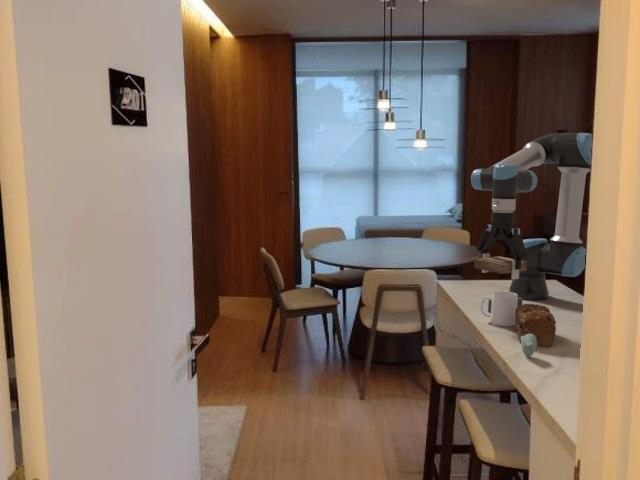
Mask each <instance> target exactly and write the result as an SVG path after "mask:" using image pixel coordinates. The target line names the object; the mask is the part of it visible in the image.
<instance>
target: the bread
mask: <svg viewBox="0 0 640 480" xmlns="http://www.w3.org/2000/svg"><path fill="white" fill-rule="evenodd" d="M556 323H557V320H556V318H555V317H554V315H553V314H552V312H551V310H550V309H549V307H547V306H546V305H540V304H534V303H524V304H522V306H520V307H517V308H516V312H515V325H514V326H515V332H516V335H517V339H518V341H519V344H520V345H521V336H525V335H527V334H533V335H535V337H536V339H537V347H541V348H551V347H553V346H554V341H555V340H556V339H555V338H556V331H557V326H556Z"/></svg>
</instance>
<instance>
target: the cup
mask: <svg viewBox="0 0 640 480" xmlns="http://www.w3.org/2000/svg"><path fill="white" fill-rule="evenodd" d="M486 300H488V301H489V300H492V305H491V313H489V312H486V311H485V310H484V303H485V301H486ZM517 301H518V295H517V294H516V293H513V292H509V291H505V290H500V291H498V290H497V291H493V292H492V293H491V296H490V295H484V296H483V298H481V300H480V305H479V309H480V313H481V315H483V316H484V317H487V318H490V322H491V324H492V325H494V326H497V327H498V326H499V327H513V326H515V312H516V308H517Z"/></svg>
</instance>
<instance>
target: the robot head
mask: <svg viewBox="0 0 640 480" xmlns="http://www.w3.org/2000/svg"><path fill="white" fill-rule="evenodd" d="M520 345H521V350H522V353H523V354H524V356H525V357H527V358H530V357H531V356H533V355H534V353H535V351H536V349H537V347H538V346H537V339H536V337H535V335H533V334H527V335H525V336H521V344H520Z"/></svg>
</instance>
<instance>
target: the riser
mask: <svg viewBox="0 0 640 480" xmlns="http://www.w3.org/2000/svg"><path fill="white" fill-rule="evenodd" d="M523 300H524V299H523V298H519V297H518V301H517V307H520V306H522V305H523ZM491 305H492V300H488V305H487V306H488V310H487V313H490V314H491Z"/></svg>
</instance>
